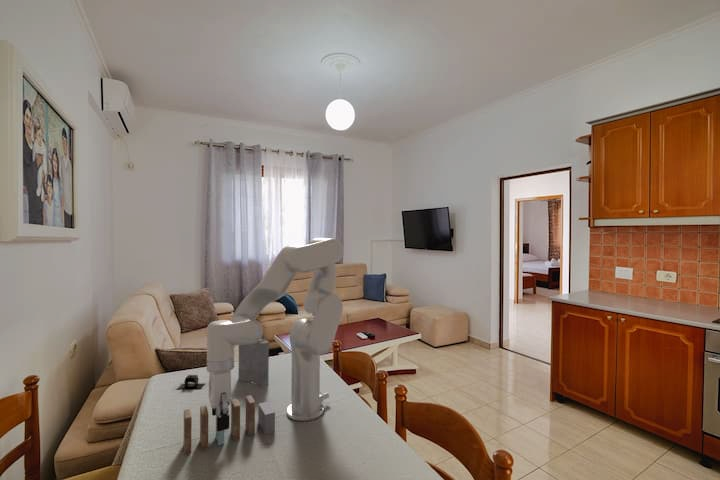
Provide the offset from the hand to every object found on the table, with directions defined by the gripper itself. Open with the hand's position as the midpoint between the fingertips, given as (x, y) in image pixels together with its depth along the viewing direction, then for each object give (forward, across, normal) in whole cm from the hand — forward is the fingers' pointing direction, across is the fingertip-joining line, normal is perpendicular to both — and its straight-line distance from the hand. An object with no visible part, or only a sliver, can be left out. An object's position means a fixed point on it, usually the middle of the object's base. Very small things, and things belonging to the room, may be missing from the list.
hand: (220, 421), depth 100 cm
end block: (+5, 0, +14) cm, 15 cm away
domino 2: (+5, 0, -4) cm, 7 cm away
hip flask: (+6, -37, +19) cm, 41 cm away
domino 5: (+5, 0, +9) cm, 10 cm away
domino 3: (+5, 0, 0) cm, 5 cm away
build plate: (+6, -44, -4) cm, 45 cm away
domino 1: (+5, 0, -9) cm, 10 cm away
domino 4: (+5, 0, +4) cm, 7 cm away
